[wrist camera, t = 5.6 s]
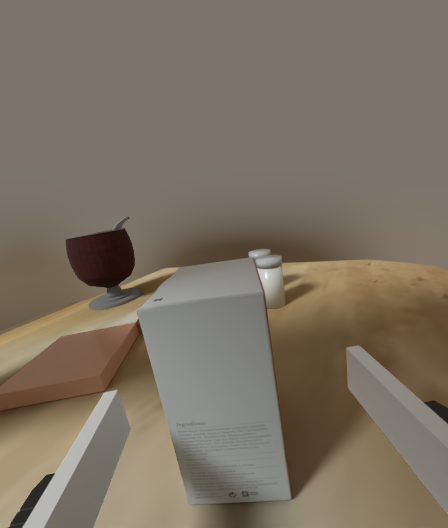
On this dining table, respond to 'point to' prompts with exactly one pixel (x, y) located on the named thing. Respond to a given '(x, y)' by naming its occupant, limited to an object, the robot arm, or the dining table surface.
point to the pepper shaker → (259, 253)
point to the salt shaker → (272, 280)
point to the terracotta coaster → (70, 367)
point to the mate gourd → (104, 264)
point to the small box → (218, 382)
